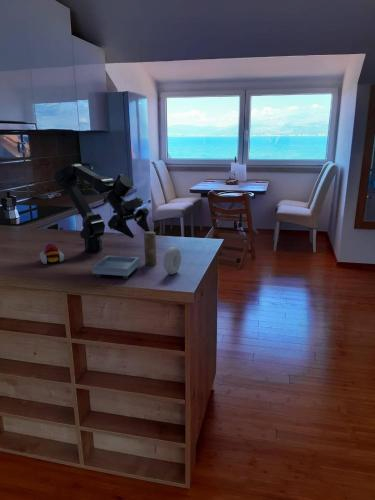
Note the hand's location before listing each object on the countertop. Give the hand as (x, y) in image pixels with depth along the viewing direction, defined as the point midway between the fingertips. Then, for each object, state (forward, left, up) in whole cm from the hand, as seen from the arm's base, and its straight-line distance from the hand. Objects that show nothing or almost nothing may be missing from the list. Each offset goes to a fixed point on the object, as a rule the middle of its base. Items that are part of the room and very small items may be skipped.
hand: (141, 234), depth 149 cm
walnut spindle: (+4, -2, -11) cm, 12 cm away
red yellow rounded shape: (-36, -5, -11) cm, 38 cm away
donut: (+15, -11, -11) cm, 22 cm away
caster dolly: (-5, -14, -11) cm, 18 cm away
